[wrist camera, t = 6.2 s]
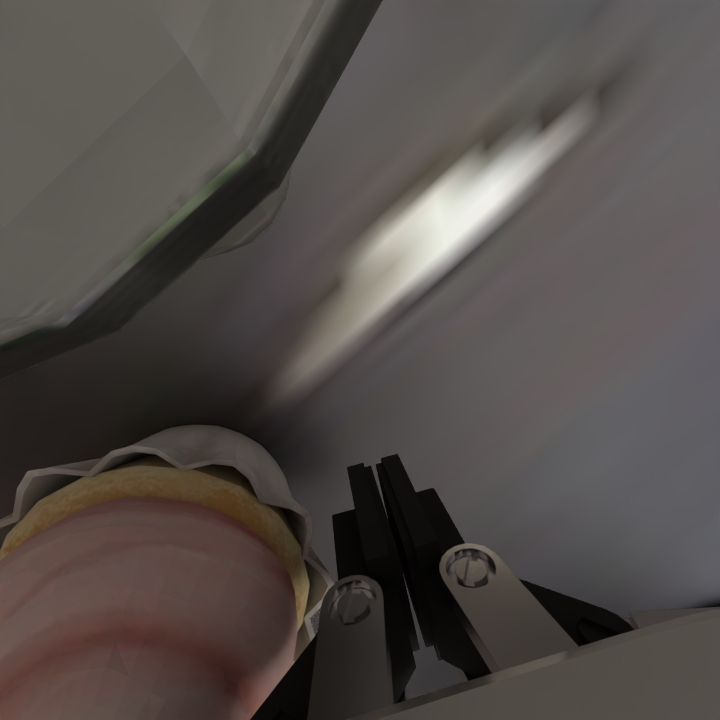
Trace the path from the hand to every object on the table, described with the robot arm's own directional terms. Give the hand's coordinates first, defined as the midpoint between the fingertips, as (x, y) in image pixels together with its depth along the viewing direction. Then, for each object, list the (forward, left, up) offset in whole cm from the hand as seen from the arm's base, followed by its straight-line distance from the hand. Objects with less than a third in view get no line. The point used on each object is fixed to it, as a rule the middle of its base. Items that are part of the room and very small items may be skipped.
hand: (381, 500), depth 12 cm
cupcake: (0, +6, -3) cm, 7 cm away
